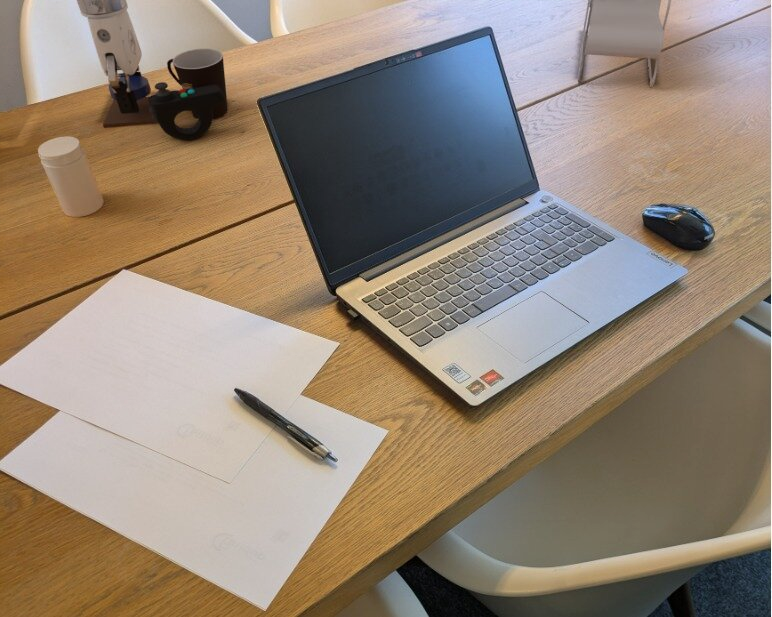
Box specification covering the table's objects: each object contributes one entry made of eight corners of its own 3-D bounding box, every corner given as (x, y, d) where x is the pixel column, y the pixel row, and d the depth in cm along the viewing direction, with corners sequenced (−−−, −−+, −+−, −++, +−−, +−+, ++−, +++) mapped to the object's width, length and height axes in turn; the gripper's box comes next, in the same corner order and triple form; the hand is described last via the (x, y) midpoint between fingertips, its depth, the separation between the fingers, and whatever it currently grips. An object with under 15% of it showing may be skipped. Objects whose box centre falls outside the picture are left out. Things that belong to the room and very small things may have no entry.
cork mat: (103, 127, 118) (102, 124, 118) (114, 102, 125) (113, 99, 125) (160, 123, 119) (159, 119, 118) (167, 98, 126) (166, 95, 125)
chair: (647, 40, 138) (672, -64, 125) (652, 93, 121) (681, -22, 107) (582, 36, 141) (599, -66, 127) (577, 87, 123) (596, -25, 110)
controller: (158, 137, 115) (142, 82, 108) (228, 123, 118) (216, 68, 111) (161, 149, 112) (144, 93, 105) (233, 134, 115) (221, 78, 108)
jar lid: (153, 84, 122) (151, 74, 121) (147, 100, 117) (144, 90, 116) (115, 86, 122) (112, 76, 120) (107, 103, 117) (104, 93, 115)
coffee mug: (241, 114, 120) (230, 60, 113) (197, 128, 117) (183, 73, 110) (215, 91, 127) (204, 39, 120) (173, 104, 124) (159, 51, 117)
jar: (58, 218, 98) (30, 158, 91) (68, 196, 102) (42, 137, 95) (99, 215, 98) (75, 155, 91) (107, 193, 102) (85, 134, 95)
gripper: (114, 18, 102) (147, 123, 115) (134, -18, 115) (161, 80, 127) (65, 21, 102) (103, 127, 114) (90, -15, 115) (122, 83, 127)
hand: (133, 102), depth 121 cm, fingers closed on jar lid, 6 cm apart
